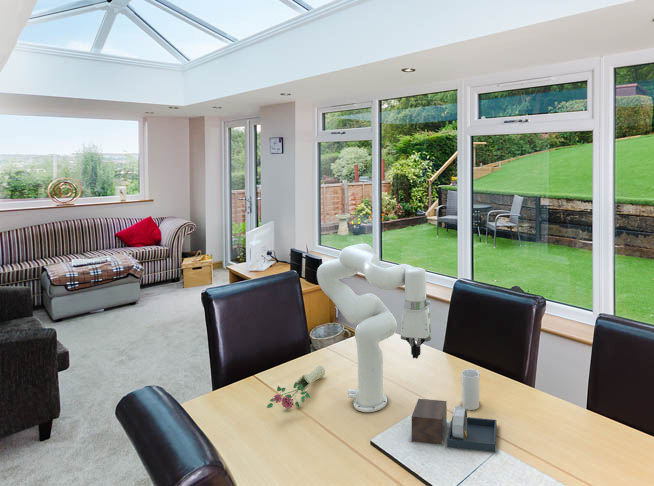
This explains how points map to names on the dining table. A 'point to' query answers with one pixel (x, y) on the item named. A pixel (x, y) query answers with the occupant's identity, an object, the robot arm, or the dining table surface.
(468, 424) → the tray
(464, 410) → the bowl
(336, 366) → the dining table surface
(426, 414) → the block
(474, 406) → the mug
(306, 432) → the dining table surface
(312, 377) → the flower vase
